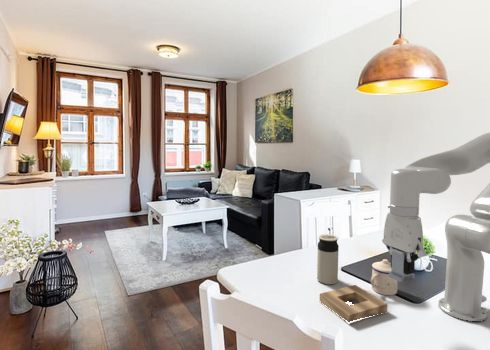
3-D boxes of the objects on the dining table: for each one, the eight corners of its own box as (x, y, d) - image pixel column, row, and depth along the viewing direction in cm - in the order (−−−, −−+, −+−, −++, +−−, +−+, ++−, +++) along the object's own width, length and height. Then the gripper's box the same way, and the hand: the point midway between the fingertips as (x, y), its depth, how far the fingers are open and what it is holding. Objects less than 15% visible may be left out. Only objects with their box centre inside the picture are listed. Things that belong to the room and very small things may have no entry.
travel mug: (338, 285, 111) (339, 240, 109) (317, 284, 113) (318, 239, 111) (336, 276, 119) (337, 234, 117) (316, 275, 120) (317, 233, 119)
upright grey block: (402, 272, 90) (403, 244, 89) (414, 278, 86) (415, 249, 85) (388, 276, 87) (389, 248, 87) (400, 282, 84) (401, 252, 83)
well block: (355, 292, 106) (355, 284, 106) (387, 312, 93) (387, 303, 93) (319, 301, 100) (319, 293, 99) (348, 324, 87) (348, 315, 87)
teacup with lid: (380, 282, 114) (382, 253, 113) (403, 292, 106) (404, 261, 105) (360, 289, 108) (361, 259, 107) (382, 300, 100) (383, 268, 99)
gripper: (372, 206, 91) (370, 262, 93) (422, 218, 76) (419, 285, 77) (389, 204, 94) (387, 258, 96) (441, 215, 79) (438, 279, 80)
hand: (402, 269), depth 87 cm, fingers closed on upright grey block, 4 cm apart
